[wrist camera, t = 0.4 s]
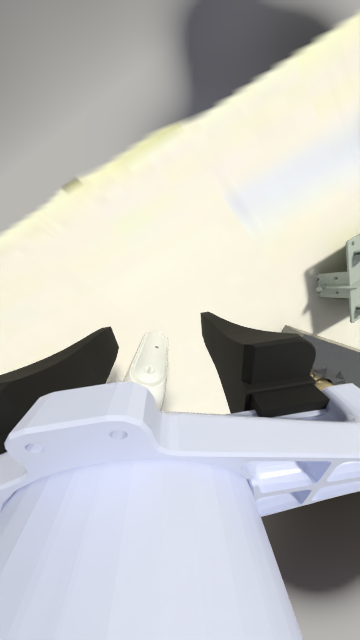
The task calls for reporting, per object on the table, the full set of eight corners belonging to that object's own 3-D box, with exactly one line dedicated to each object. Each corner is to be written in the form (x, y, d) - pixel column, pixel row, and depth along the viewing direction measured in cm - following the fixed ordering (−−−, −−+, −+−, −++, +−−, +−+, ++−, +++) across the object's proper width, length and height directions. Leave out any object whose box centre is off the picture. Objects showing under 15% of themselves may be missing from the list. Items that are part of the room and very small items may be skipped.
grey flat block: (311, 416, 31) (328, 434, 27) (242, 400, 28) (251, 417, 25) (362, 350, 26) (390, 362, 23) (285, 325, 24) (304, 333, 21)
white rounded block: (144, 326, 23) (115, 385, 11) (171, 333, 23) (171, 396, 12) (131, 380, 26) (97, 471, 14) (155, 384, 26) (143, 476, 15)
